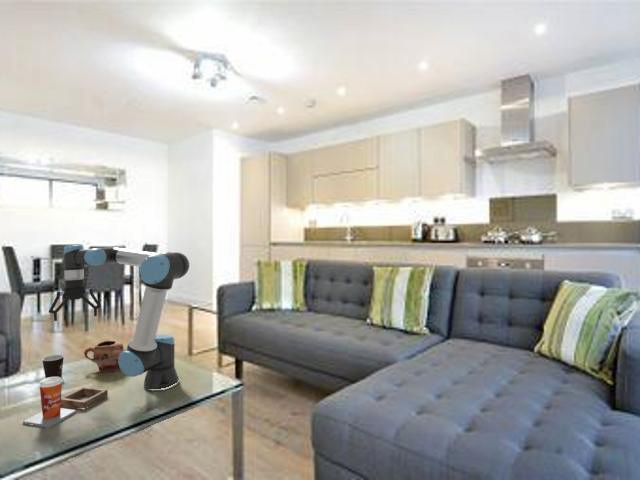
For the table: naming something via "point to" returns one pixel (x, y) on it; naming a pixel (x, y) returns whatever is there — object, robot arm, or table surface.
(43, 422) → the slate pad
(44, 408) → the paper cup
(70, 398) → the walnut collar
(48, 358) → the coffee mug
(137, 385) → the table surface
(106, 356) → the decorative planter
